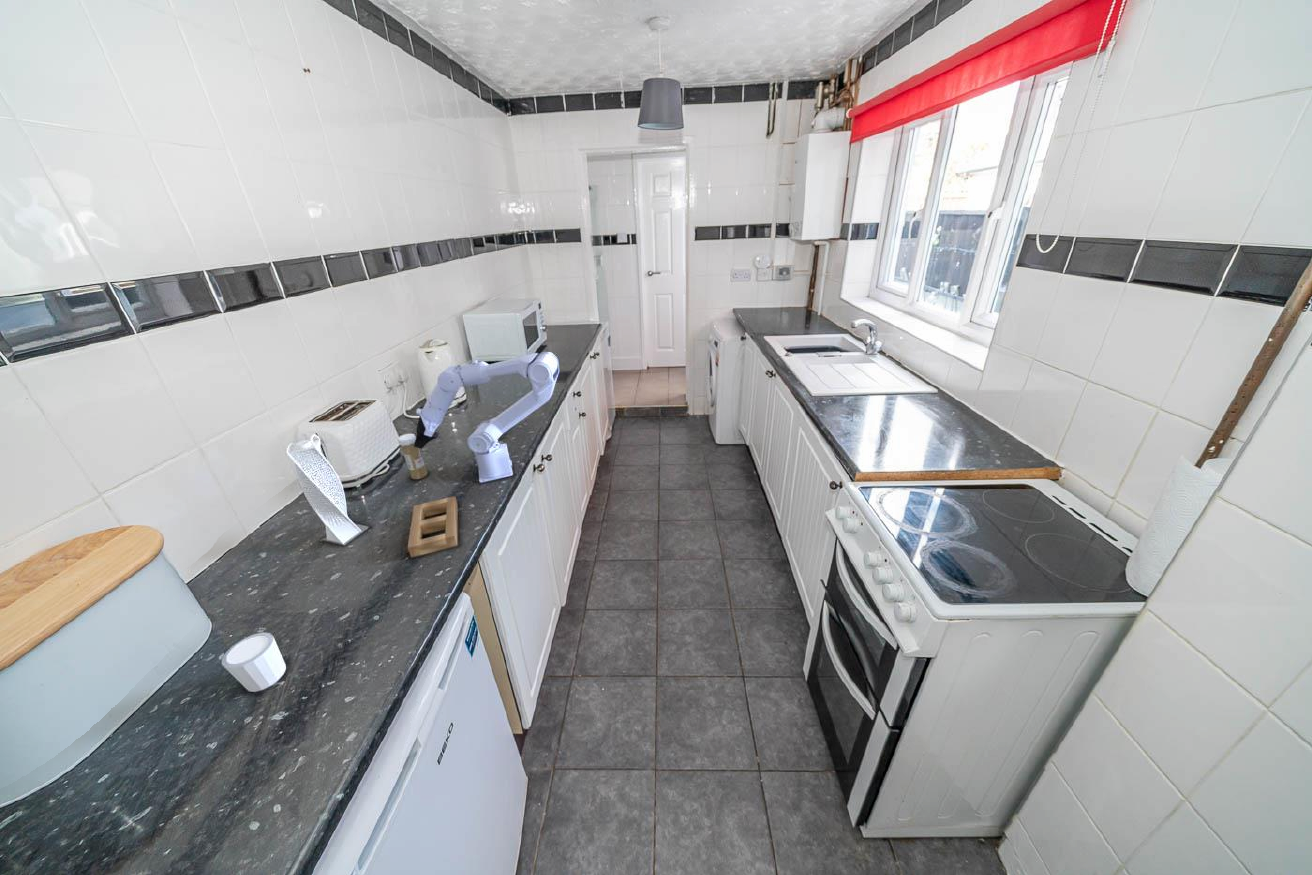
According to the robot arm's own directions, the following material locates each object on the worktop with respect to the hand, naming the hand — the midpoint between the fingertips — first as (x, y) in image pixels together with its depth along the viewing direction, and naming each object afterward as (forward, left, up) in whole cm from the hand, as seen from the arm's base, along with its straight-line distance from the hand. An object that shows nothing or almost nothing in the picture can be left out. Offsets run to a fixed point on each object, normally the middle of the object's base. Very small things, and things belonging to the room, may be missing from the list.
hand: (418, 438), depth 131 cm
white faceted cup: (+23, +61, -13) cm, 67 cm away
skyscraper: (+18, +22, -13) cm, 32 cm away
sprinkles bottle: (+3, -2, -13) cm, 14 cm away
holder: (-3, +29, -13) cm, 32 cm away
